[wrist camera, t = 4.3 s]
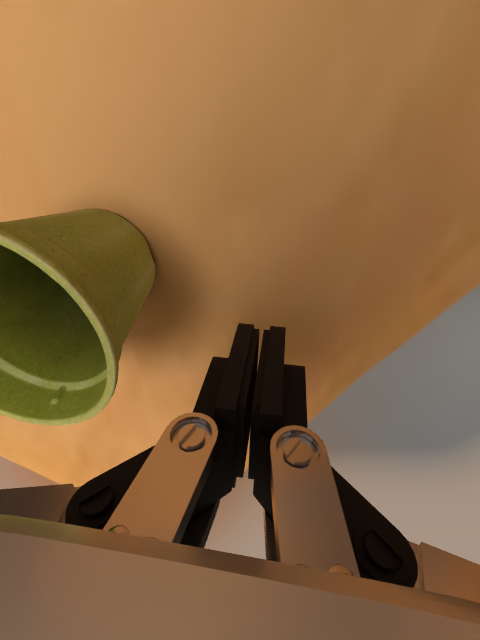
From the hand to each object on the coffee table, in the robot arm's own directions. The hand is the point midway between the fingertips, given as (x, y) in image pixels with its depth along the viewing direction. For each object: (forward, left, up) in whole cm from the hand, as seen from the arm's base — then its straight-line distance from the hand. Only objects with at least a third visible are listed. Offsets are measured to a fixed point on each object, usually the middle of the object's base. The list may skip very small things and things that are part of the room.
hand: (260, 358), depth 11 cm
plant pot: (+10, 0, -8) cm, 13 cm away
